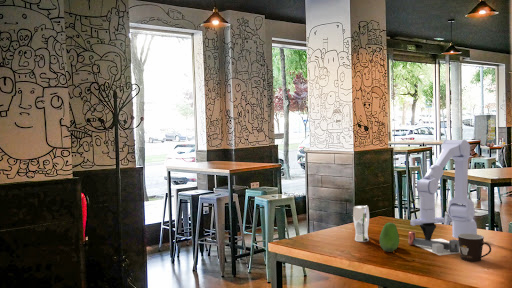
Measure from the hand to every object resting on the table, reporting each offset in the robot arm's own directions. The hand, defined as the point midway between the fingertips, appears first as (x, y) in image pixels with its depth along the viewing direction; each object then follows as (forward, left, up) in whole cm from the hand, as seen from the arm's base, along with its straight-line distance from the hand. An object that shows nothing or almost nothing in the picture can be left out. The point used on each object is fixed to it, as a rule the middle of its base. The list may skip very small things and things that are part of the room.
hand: (428, 241), depth 198 cm
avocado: (+16, -3, -4) cm, 16 cm away
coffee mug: (-3, +23, -4) cm, 24 cm away
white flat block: (-4, +2, -3) cm, 6 cm away
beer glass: (+18, -24, -4) cm, 30 cm away
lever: (0, +4, -2) cm, 4 cm away
